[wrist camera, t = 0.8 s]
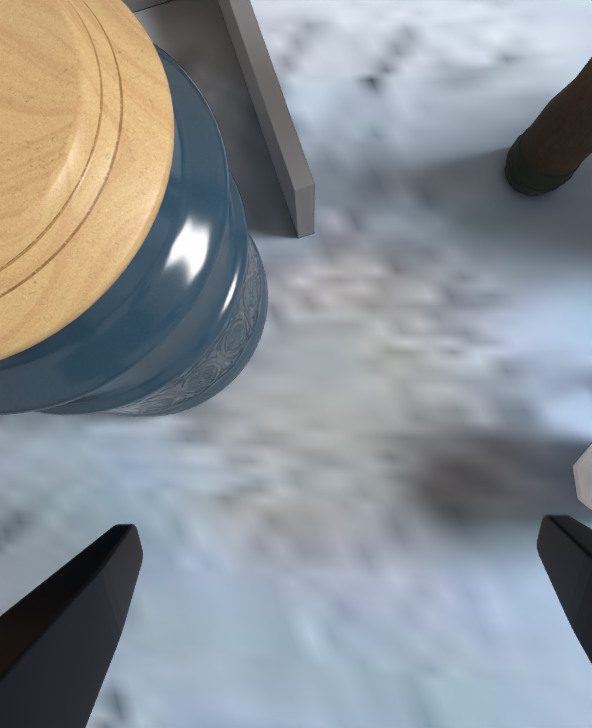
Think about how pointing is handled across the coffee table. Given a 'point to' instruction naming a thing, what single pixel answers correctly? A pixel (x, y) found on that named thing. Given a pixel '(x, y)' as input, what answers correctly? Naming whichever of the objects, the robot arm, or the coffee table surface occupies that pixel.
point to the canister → (114, 222)
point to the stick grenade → (554, 140)
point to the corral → (266, 108)
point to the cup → (584, 477)
